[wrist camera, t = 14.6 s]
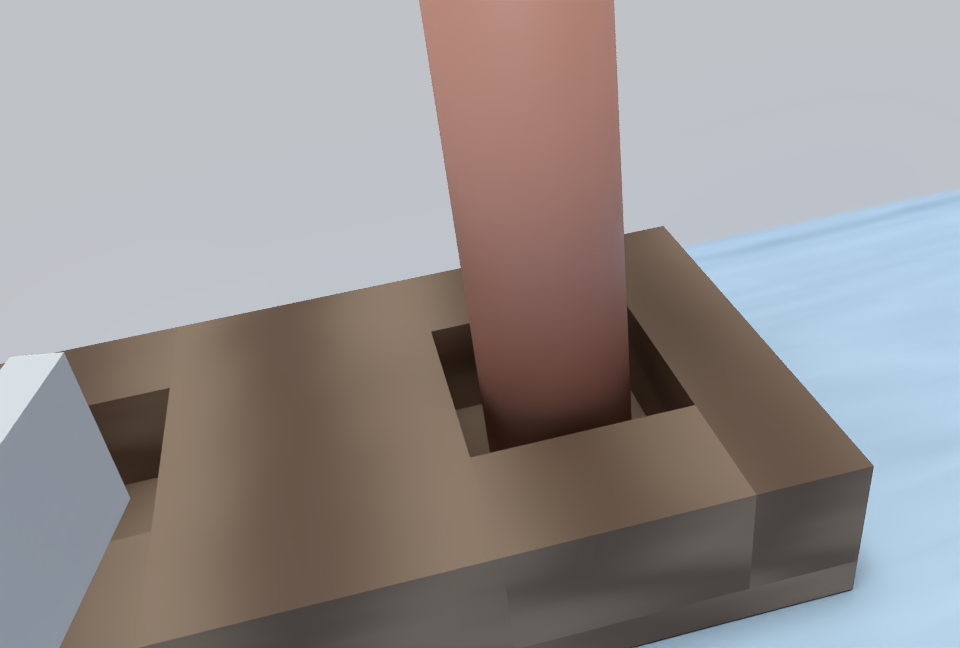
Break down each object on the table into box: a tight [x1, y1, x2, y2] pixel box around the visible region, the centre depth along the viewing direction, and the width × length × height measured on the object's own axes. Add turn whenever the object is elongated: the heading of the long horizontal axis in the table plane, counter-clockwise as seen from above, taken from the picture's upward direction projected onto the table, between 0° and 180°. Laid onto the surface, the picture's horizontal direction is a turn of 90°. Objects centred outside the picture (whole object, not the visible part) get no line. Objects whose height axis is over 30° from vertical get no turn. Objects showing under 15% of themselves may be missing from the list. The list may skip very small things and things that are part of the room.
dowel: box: [419, 0, 632, 453], centre depth 22 cm, size 4×4×14 cm
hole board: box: [0, 226, 874, 648], centre depth 24 cm, size 24×12×4 cm, turn 102°
